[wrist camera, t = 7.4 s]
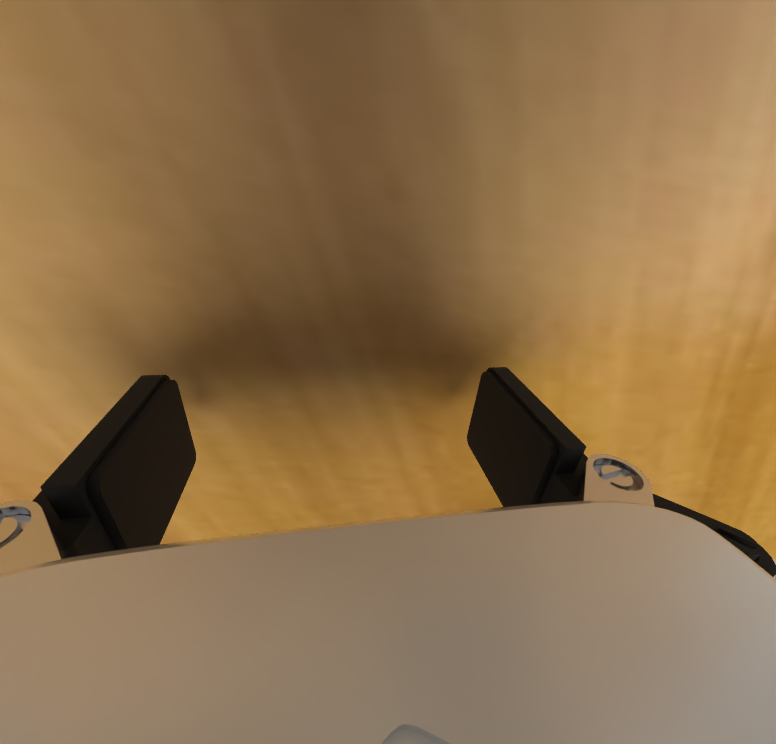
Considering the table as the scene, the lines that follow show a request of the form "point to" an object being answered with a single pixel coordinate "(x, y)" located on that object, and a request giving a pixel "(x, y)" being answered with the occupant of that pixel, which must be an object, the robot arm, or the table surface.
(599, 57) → the table surface
